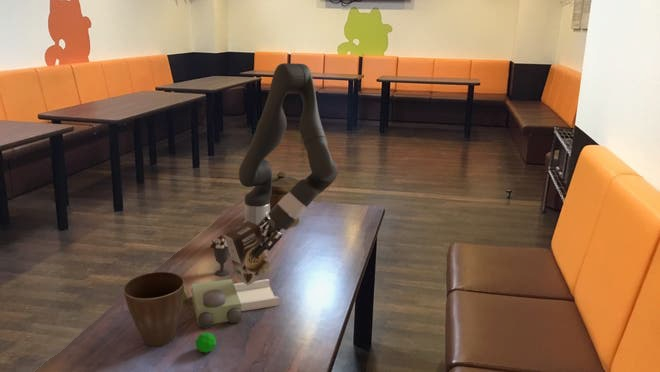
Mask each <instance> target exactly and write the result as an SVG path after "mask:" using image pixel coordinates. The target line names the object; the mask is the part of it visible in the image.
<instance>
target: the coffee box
mask: <svg viewBox="0 0 660 372" xmlns="http://www.w3.org/2000/svg"><path fill="white" fill-rule="evenodd" d="M223 237H225V240H226V243H227V246H228V249H229V256H230V259H231V263H232V266H233V269H234V272H235V276H236V279H237V280H239V281H240V282H241V283H245V284H246V285H250V284H251V283H253V282H255V281H258V280H260V279H261V278H262V277H264V276H266V275H267V274H269V273H271V272H272V271H273V269H272V267H271V266H272V265H271V263H270V259H269V255H268V250H264V252H263V253H262V254H261V255H260V256H259V257H258V258H257V259H256V258H254V257H253V256H252V255H251V253H252V252H253V251H254V250H255V249H256V248H257V246H258V245H260V243H261V241H262V233H261V229H260V226H259V225H257V224H254V223H252V222H250V221H247V222H245V223H244V222H243V223H241V224H240V225H238V226H236V227H233V228H232V229H231V230H229V231H226V233H224V234H223Z"/></svg>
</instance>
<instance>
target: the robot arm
mask: <svg viewBox="0 0 660 372" xmlns="http://www.w3.org/2000/svg"><path fill="white" fill-rule="evenodd" d="M268 91H269V92H268V95H267V99H266V102H265V105H264V108H263V111H262V113H261V117H260V119H259V121H258V124H257V126H256V130H255V132H254V135H253V138H252V139H251V143H250V145H249V147H248V149H247V151H246V153H245V156H244V157H243V160H242V162H241V163H240V165H239V168H238V179H239V182H240V184H241V185H242V186H243V187H245V188H246V187H247V188H252V187H253V189H252V190H250V191H249V192H247V193H246V194H245V195H244V217H245V218H244V221H243V223H245V222H247V221H250V222H252V223H254V224H257V225H259V226H260V229H261V233H262V241H261V243H260V245H258V246H257V248H256V249H255V250H254V251H253V252H252V253H251V255H252V256H253V257H254V258H256V259H257V258H258V257H259V256H260V255H261V254H262V253H263V252H264V250H266V251H267V252H269V251H271V250H272V249H273V248H274V246H275V245H276V244H277V243H278V242H279V241H280V240H281V239H282V237H283V234H282V233H281V230H284V231H288V230H289V228H291V227H290V226H291V225H292V224H293V223H294V222H295V221H296V220H297V218H298V217H299V218H300V217H301V215H302V214H303V213H304V212H305V210H306V209H307V208H308V207H309V205H310V204H311V203H312V202H313V201H314V200H315V198H317V196H319V194H321V193H323V192H324V191H325V190H326V189H327V188H329V186H331V185H332V183H334V181H336V179H337V178H338V174H339V169H338V167H337V165H336V163H335V162H334V159H333V158H332V156H331V153H330V149H329V143H328V140H327V136H326V133H325V130H324V127H323V125H322V121H321V118H320V113H319V107H318V106H319V105H318V102H317V94H316V89H315V83H314V79H313V75H312V72H311V69H310V67H309V66H308V65H306V64H304V63H293V62H292V63H291V62H290V63H289V62H284V63H280V64H278V65H277V66H276V68H275V70H274V72H273V76H272V79H271V82H270V87H269V90H268ZM288 94H299V95H300V97H301V99H302V100H301V101H302V104H303V105H302V113H301V116H300V120H299V121H300V122H299V132H300V136H301V140H302V142H303V145H304V148H305V150H306V155H307V159H308V163H309V164H308V165H309V168H310V171H311V173H310V174H309V175H308V176H307V177H306V178H303V179H299V182H298V183H297V184H296V185H295V186H294V187H293V188H292V189H291V190H290V191H289V192H288V193H287V194H286V195H285V196H284V197H283V198H282V199H281V200H280V201H279V202H278V203H277V204H276V205H275V206H274V207H273V209H272V210H271V211H270V197H271V193H272V177H273V170H272V166H271V164H270V162H269V161H268V160H267V159H266V157H268V155H269V154H271V153H272V152H273V151H274V150H275V149H276V148H277V147H278V146H279V145H280V143H281V141H282V139H283V137H284V135H285V133H286V130H287V127H288V126H287V125H288V124H287V123H288V121H287V117H286V115H285V112H284V108H283V104H284V100H285V98H286V96H287V95H288Z"/></svg>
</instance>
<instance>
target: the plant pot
mask: <svg viewBox="0 0 660 372" xmlns="http://www.w3.org/2000/svg"><path fill="white" fill-rule="evenodd" d="M184 289H185V280H184V278H183V277H182V276H181V275H179V274H177V273H175V272H169V271H157V272H156V271H155V272H149V273H145V274H140V275H138V276H136V277H133V278H132V279H129V281H127V282H126V283H125V284H124V286H123V288H122V291H123V295H124V298H125V301H126V304H127V308H128V311H129V314H130V315H131V318H132V320H133V323H134V325H135V327H136V329H137V331H138V332H139V335H140V336H141V338H142V339H143V341H144V343H145V344H146V345H147V346H150V347H162V346H165V345H167V344H169V343H171V342H172V341H173V339H174V338H175V335H176V332H177V328H178V325H179V321H180V317H181V312H182V307H183V302H182V301H183V292H184Z"/></svg>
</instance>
